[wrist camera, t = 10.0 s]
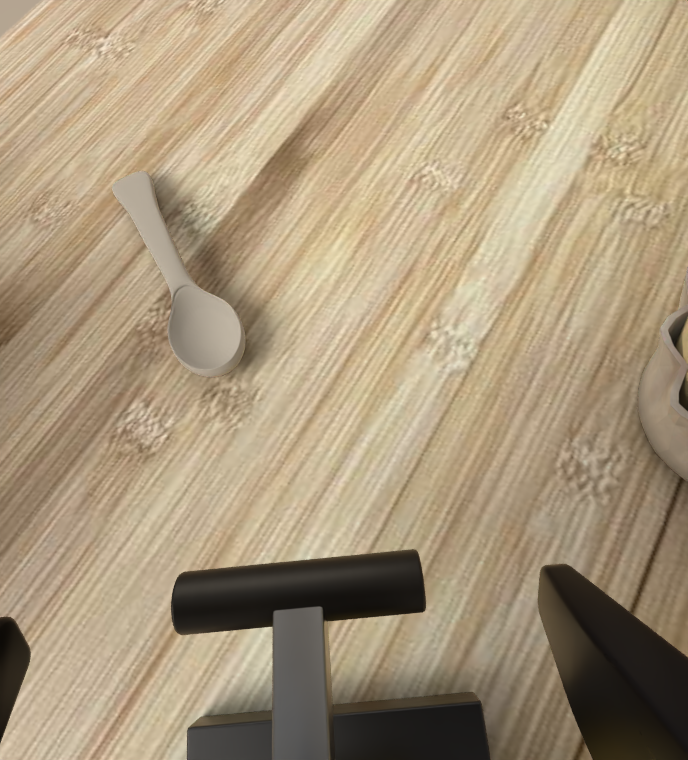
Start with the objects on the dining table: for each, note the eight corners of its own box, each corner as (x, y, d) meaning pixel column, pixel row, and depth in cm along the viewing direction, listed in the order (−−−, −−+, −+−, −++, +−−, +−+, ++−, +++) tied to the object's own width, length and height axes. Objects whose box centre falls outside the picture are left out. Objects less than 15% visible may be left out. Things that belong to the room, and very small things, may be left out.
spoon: (199, 400, 20) (180, 380, 18) (113, 209, 24) (90, 178, 23) (265, 365, 20) (253, 342, 18) (167, 184, 25) (150, 151, 23)
